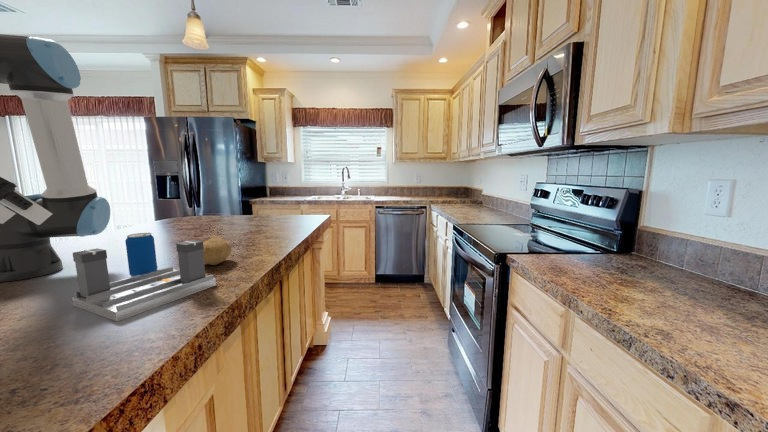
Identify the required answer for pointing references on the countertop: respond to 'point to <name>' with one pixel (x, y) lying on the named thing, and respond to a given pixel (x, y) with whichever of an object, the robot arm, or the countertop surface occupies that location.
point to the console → (141, 293)
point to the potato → (215, 251)
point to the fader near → (91, 271)
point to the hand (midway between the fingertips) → (26, 219)
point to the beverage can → (141, 253)
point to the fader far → (191, 260)
